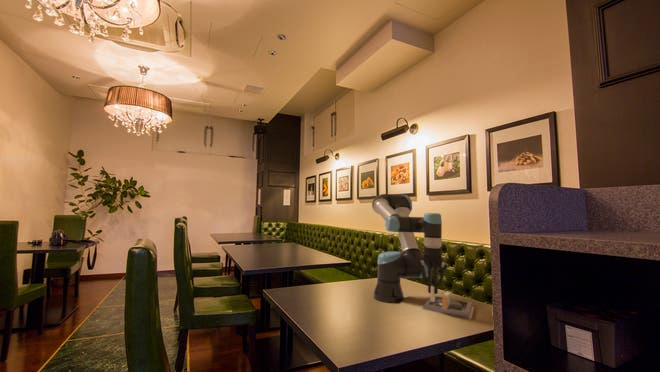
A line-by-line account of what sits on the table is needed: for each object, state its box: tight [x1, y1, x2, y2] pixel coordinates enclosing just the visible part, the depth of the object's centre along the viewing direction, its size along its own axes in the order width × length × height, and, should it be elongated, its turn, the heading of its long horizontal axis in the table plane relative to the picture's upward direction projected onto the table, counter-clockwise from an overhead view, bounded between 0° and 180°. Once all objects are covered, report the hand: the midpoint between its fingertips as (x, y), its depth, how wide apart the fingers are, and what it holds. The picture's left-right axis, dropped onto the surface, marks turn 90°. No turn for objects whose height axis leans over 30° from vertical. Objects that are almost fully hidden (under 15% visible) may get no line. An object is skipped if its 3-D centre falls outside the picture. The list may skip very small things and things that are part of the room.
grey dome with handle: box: [436, 291, 462, 311], centre depth 129 cm, size 17×11×7 cm, turn 150°
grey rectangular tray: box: [421, 295, 475, 320], centre depth 131 cm, size 20×18×3 cm
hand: (432, 300), depth 127 cm, fingers closed
